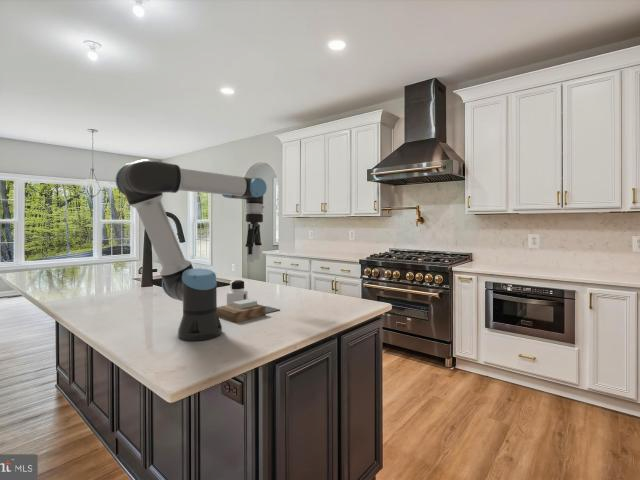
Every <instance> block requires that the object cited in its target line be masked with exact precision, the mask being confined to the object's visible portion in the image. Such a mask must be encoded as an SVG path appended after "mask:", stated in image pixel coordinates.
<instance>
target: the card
mask: <svg viewBox="0 0 640 480" xmlns="http://www.w3.org/2000/svg"><path fill="white" fill-rule="evenodd" d="M257 304H258V300H255V299H251V298H248V299H246V300H240V301H235V302H232V307H235V308H238V309H242V308H247V307H252V306H257Z"/></svg>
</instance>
